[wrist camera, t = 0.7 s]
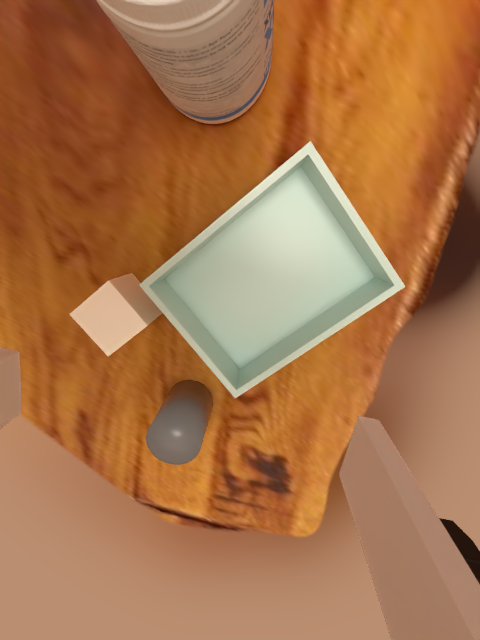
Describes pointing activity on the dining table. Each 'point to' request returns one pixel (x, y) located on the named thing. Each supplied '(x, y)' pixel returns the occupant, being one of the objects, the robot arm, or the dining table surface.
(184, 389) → the charcoal cylinder
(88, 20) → the dining table surface
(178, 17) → the supplement tub
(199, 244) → the teal tote
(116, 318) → the tan cube
